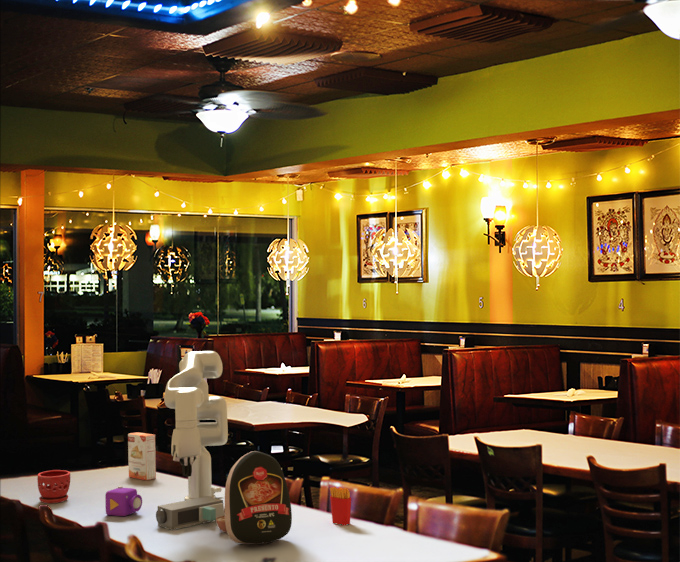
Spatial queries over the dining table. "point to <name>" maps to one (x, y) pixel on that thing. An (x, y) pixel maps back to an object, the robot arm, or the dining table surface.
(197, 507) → the camera housing
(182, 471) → the robot arm
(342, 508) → the french fries
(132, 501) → the toy camera
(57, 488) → the plant pot
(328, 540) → the dining table surface
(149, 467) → the cracker box
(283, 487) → the packaged food
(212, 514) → the side door
